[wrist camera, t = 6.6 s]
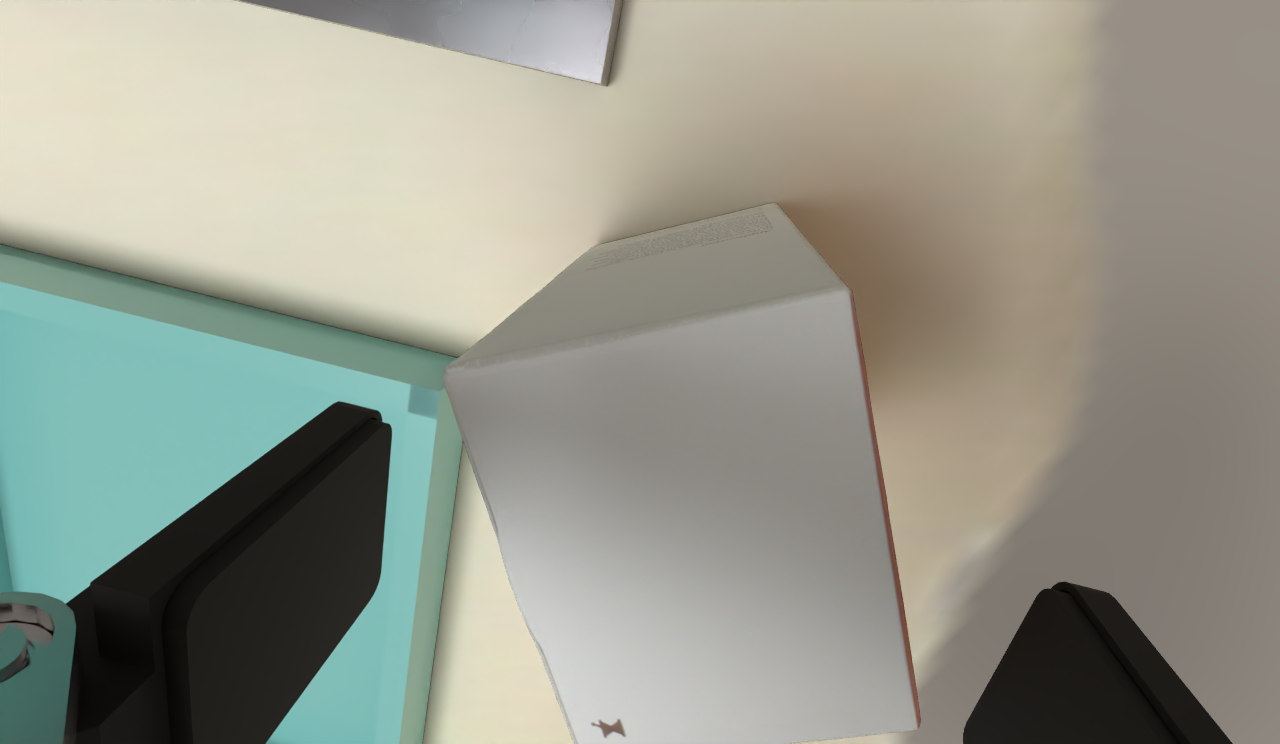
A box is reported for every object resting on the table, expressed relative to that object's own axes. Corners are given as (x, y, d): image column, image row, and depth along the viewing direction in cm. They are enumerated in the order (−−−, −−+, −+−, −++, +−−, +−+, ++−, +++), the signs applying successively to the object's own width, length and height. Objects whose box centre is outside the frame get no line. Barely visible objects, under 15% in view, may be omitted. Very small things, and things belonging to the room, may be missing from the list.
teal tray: (473, 361, 24) (440, 392, 21) (416, 783, 32) (387, 846, 29) (-42, 233, 25) (-140, 246, 22) (25, 676, 33) (-41, 727, 30)
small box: (822, 425, 23) (929, 744, 11) (647, 456, 25) (572, 774, 12) (779, 194, 21) (857, 278, 9) (588, 241, 22) (422, 372, 10)
